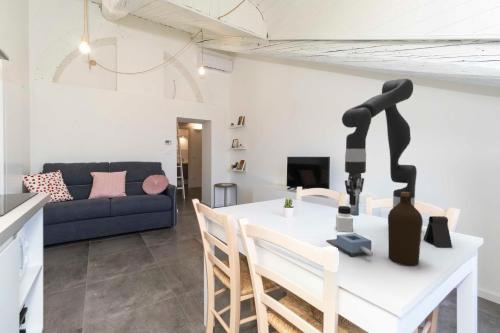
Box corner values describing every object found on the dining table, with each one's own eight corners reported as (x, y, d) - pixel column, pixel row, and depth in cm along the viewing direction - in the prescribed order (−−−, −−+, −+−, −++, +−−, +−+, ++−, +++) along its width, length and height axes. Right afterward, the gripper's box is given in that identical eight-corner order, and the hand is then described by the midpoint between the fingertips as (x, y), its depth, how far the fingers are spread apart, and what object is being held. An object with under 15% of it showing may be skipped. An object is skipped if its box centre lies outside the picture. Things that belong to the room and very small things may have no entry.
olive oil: (392, 265, 86) (394, 194, 84) (382, 253, 96) (384, 189, 95) (426, 268, 84) (429, 195, 82) (413, 255, 94) (415, 190, 93)
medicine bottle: (352, 232, 122) (353, 208, 121) (337, 231, 123) (338, 207, 123) (350, 227, 129) (350, 205, 128) (335, 227, 130) (336, 204, 130)
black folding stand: (423, 240, 111) (424, 213, 110) (436, 240, 111) (438, 214, 110) (437, 247, 102) (438, 219, 101) (452, 248, 102) (453, 219, 101)
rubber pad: (339, 239, 111) (339, 238, 111) (350, 245, 104) (350, 244, 104) (326, 241, 109) (326, 240, 109) (336, 247, 102) (336, 245, 102)
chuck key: (362, 215, 96) (362, 181, 96) (359, 216, 94) (359, 182, 94) (350, 213, 100) (349, 181, 99) (346, 214, 98) (346, 182, 97)
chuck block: (354, 246, 104) (355, 233, 103) (381, 259, 90) (381, 245, 90) (336, 248, 101) (336, 235, 101) (360, 262, 88) (360, 247, 87)
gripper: (358, 161, 88) (357, 208, 89) (371, 160, 98) (370, 203, 99) (338, 160, 94) (337, 205, 95) (352, 159, 104) (351, 200, 105)
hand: (354, 204), depth 97 cm, fingers closed on chuck key, 3 cm apart
